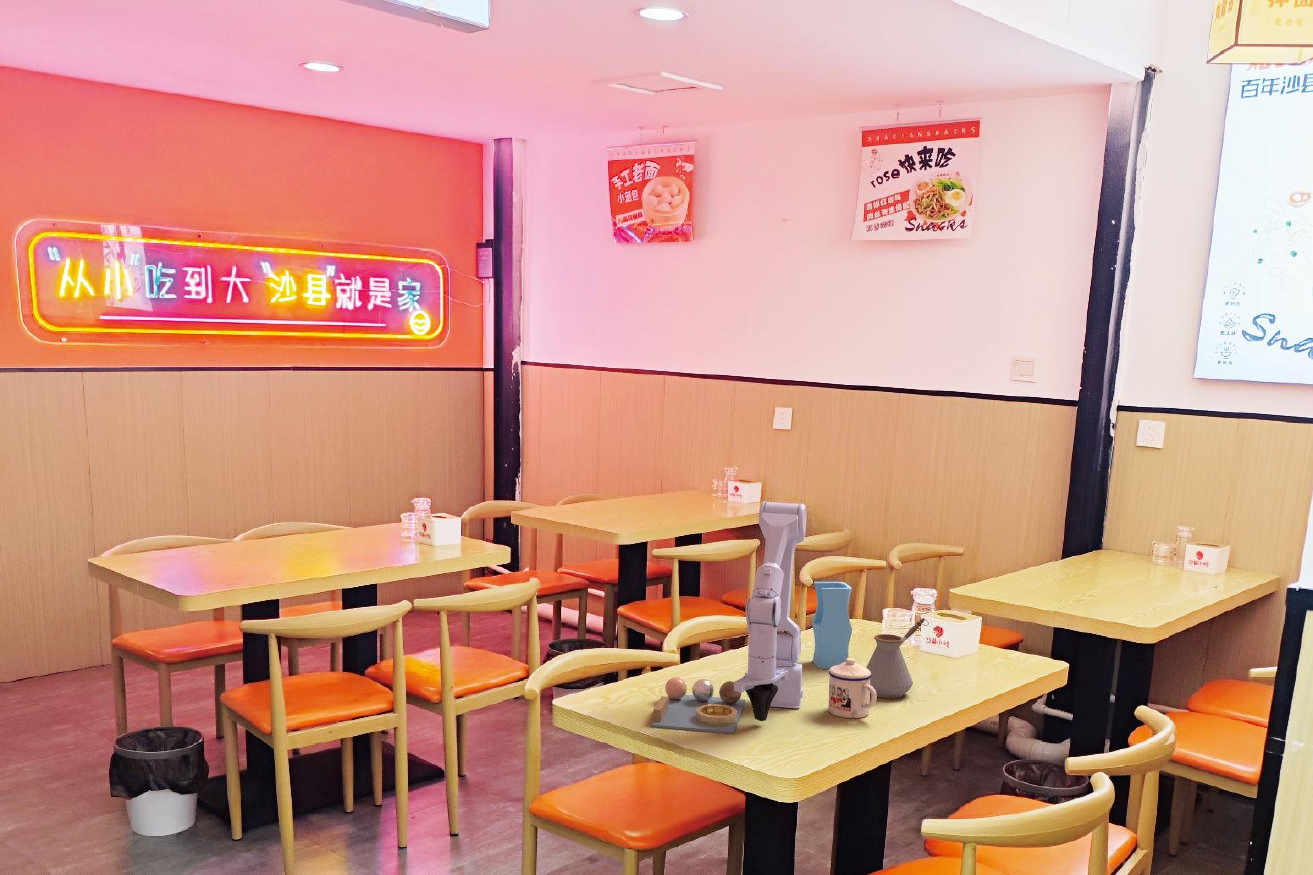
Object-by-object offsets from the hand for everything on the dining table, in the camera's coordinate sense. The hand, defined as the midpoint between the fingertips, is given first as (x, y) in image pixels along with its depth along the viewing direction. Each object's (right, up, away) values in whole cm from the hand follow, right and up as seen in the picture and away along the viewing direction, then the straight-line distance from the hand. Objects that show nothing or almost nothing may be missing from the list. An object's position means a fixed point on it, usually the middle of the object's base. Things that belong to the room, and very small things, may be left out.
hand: (760, 719), depth 221 cm
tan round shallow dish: (-9, 0, +2) cm, 9 cm away
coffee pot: (+35, 0, +27) cm, 44 cm away
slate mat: (-12, -1, +6) cm, 14 cm away
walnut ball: (-5, +3, +12) cm, 14 cm away
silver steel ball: (-11, +3, +13) cm, 18 cm away
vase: (+22, +2, +46) cm, 51 cm away
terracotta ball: (-17, +3, +14) cm, 23 cm away
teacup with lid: (+21, -1, +8) cm, 22 cm away
